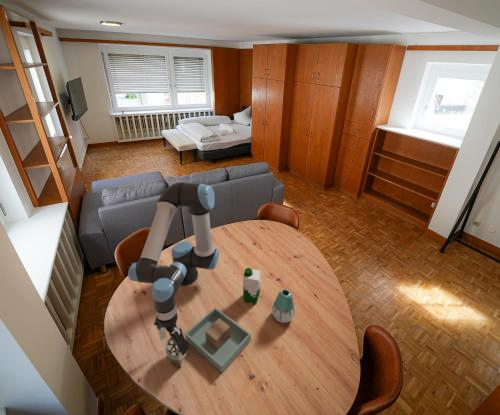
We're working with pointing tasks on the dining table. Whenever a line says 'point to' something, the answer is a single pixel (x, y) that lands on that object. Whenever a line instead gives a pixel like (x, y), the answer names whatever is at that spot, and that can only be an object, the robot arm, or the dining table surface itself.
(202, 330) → the tote
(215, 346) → the walnut block
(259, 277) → the milk carton
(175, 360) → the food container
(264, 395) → the dining table surface
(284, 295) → the vase
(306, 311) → the dining table surface
